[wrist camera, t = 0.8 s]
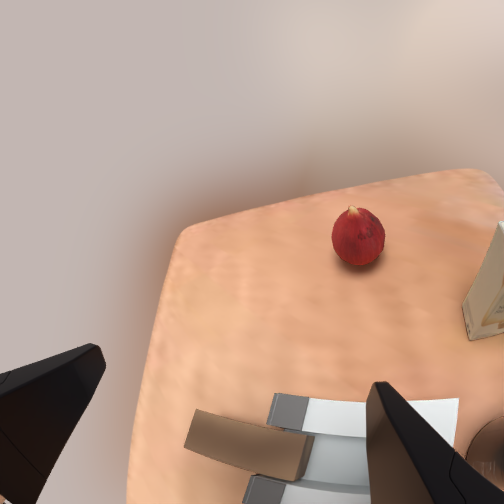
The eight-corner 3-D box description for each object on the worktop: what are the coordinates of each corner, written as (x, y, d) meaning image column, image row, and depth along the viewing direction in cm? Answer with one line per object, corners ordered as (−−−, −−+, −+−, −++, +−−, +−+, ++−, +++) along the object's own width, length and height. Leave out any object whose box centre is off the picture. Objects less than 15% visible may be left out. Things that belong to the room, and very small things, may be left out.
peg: (304, 476, 18) (293, 481, 15) (206, 449, 22) (183, 447, 19) (315, 436, 20) (306, 435, 17) (217, 415, 24) (195, 408, 21)
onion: (386, 240, 31) (384, 188, 25) (382, 281, 28) (381, 231, 22) (341, 237, 34) (330, 188, 28) (332, 276, 31) (319, 228, 25)
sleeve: (416, 509, 12) (430, 527, 7) (263, 494, 18) (235, 505, 13) (438, 409, 17) (458, 397, 13) (289, 402, 23) (269, 390, 19)
